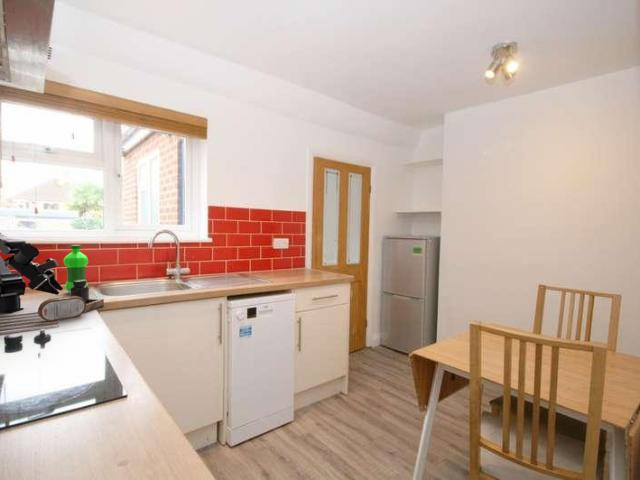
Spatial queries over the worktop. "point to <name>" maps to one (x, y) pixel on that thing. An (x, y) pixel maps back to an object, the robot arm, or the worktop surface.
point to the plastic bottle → (75, 266)
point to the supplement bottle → (80, 290)
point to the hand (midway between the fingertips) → (60, 291)
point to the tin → (61, 308)
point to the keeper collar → (94, 304)
